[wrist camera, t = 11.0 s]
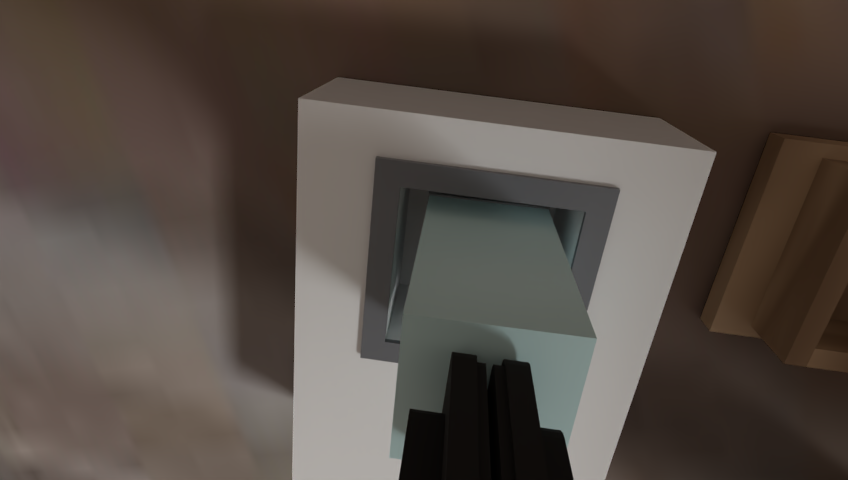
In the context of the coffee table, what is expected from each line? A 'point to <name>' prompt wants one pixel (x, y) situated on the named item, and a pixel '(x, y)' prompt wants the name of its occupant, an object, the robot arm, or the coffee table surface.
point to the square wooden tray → (790, 256)
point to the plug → (492, 308)
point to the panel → (484, 178)
